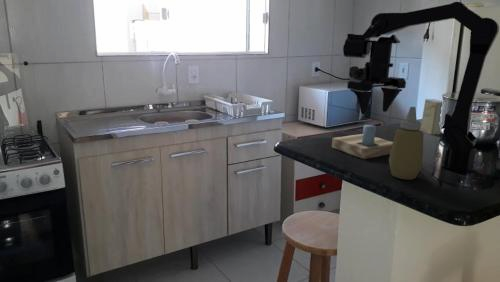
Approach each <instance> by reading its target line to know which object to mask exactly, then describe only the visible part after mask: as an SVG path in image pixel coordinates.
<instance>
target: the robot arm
mask: <svg viewBox="0 0 500 282" xmlns="http://www.w3.org/2000/svg"><path fill="white" fill-rule="evenodd" d="M453 19H454V20H455V21H457V22H458V23H459V24H461V25H462V26H464V27H465V28H466V29H468V30H469V31H470V35H469V56H468V60H467V63H466V67H465V69H464V73H463V78H462V80H461V86H460V88H459V91H458V95H457V100H456V103H455V107H454V109H453V110H452V111H451V110H449V111H447V112H446V113H444V114H445V115H444V123H443V124H442V126H441V130H443V131H442V132H443V134H442V135H443V137H444V139H445V140H446V141H447V142H449V144H448V146H447V149H446V150H445V155H444V159H443V160H444V161H443V164H442V165H441V168H443V169H446V170H449V171H452V172H456V173H459V174H462V175H464V174H468V173H471V172H476V171H477V168H476V167H474V166H475V161H476V155H477V150H478V149H476V148H474V147H475V145H476V142H477V141H478V138H477V137H476V135H474V134H473V133H472V131H471V121H472V106H473V103H474V101H475V100H474V99H475V96H476V93H477V89H478V86H479V82H480V79H481V76H482V73H483V68H484V66H485V65H484V64H485V61H486V59H487V58H486V57H487V55H488V54H489V52H490V50H491V49H492V46H493V44H494V42H495V40H496V38H497V36H498V34H499V32H500V26H499V24H498V22H497V21H496V20H494V19H493V18H490V17H482V16H480V15H479V14H477V13H475V11H473V10H472V9H470V8H468V7H467V6H466V4H464V2H460V1H454V2H452V3H448V4H444V5H443V4H442V5H439V6H433V7H432V6H431V7H428V8H423V9H418V10H413V11H407V12H379V13H377V14H375V15H374V16H373V18H372V19H371V22H370V26H368V28H367V29H366V30H365V31H364V33H363V34H355V33H347V36H346V39H345V41H344V44H343V50H342V51H343V56H344V57H345V58H356V59H357V58H358V59H359V58H360V59H366V57H367V56H369V60H368V61H366V62H365V64H364V67H363V68H361V67H360V68H359V66H356V65H355V66H351V67H349V71H348V72H349V73H348V76H349V78H350V79H348V81H347V87H346V88H347V90H350V92H353V94H354V95H355V96H356V98H357V101H358V106H359V110H360V114H362V115H365V114H366V112H367V111H368V107H369V104H370V101H371V97H372V93H373V91H371V90H372V88H378V87H380V90H381V92H382V95H383V97H382V112H385V113H387V111H388V110H389V108H390V107H391V105H392V104H393V102H394V100H395V99H396V98H397V96H399V94H400V93H401V92H403V89H406V85H407V82H406V80H405V78H403V77H396V76H390V75H389V74H390V68H393V67H394V63H393V62H391V58H392V57H391V56H392V47H393V44H400V43H401V41H400V39H399V38H398V37H397V36H396V34H394V33H396V32H399V31H402V30H403V29H406V28H409V27H413V26H414V27H415V26H419V25H425V24H429V23H435V22H442V21H446V20H453ZM391 34H392V35H391ZM382 35H383V36H382ZM384 35H391V36H384ZM372 39H373V40H372ZM374 39H377V40H374Z"/></svg>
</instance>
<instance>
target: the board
mask: <svg viewBox="0 0 500 282" xmlns="http://www.w3.org/2000/svg"><path fill="white" fill-rule="evenodd" d="M362 138H363V133H360V134H353V135H346V136H345V135H344V136H337V137H332V138H331V140H332V141H331V148H332V149H336V150H338V151H341V152H344V153H346V154H349V155H352V156H355V157H357V158H360V159H362V160H366V159H371V158H377V157H382V155H383V156H387V155H390V153H391V149H392V145H393V141H390V140H387V139H383V138H380V137H376V136H375V140H374V146H372V147H366V146H363V145H362Z"/></svg>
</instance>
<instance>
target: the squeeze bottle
mask: <svg viewBox="0 0 500 282" xmlns="http://www.w3.org/2000/svg"><path fill="white" fill-rule="evenodd" d="M416 109H417V108H416V107H415V106H410V107H409V110H408V113H407V115H406V118H405V119H402V120H401V121H400V128H398V129H396V130H395V133H394V137H393V141H392V142H393V145H392V149H391V153H390V154H389V157H388V163H389V168H390V173H391V175H392V177H395V178H397V179H401V180H408V181H409V180H414V179H416V178H417V176H418V174H419V173H420V170H421V168H422V167H423V161H424V160H423V157H424V135H425V134H424V132H422V131H420V128H421V121H417V110H416Z"/></svg>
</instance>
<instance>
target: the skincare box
mask: <svg viewBox="0 0 500 282" xmlns="http://www.w3.org/2000/svg"><path fill="white" fill-rule="evenodd" d="M442 101H443V100H440V99H436V98H435V99H432V98H431V99H429V98H426V99H424V106H423V112H422V116H421V121H420V123H421V127H420V129H419V130H420V131H422V132H423V133H425V134H428V135H432V136H433V135H434V136H435V134H436V135H441V131H440V127H439V122H440V114H441V107H442Z"/></svg>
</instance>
